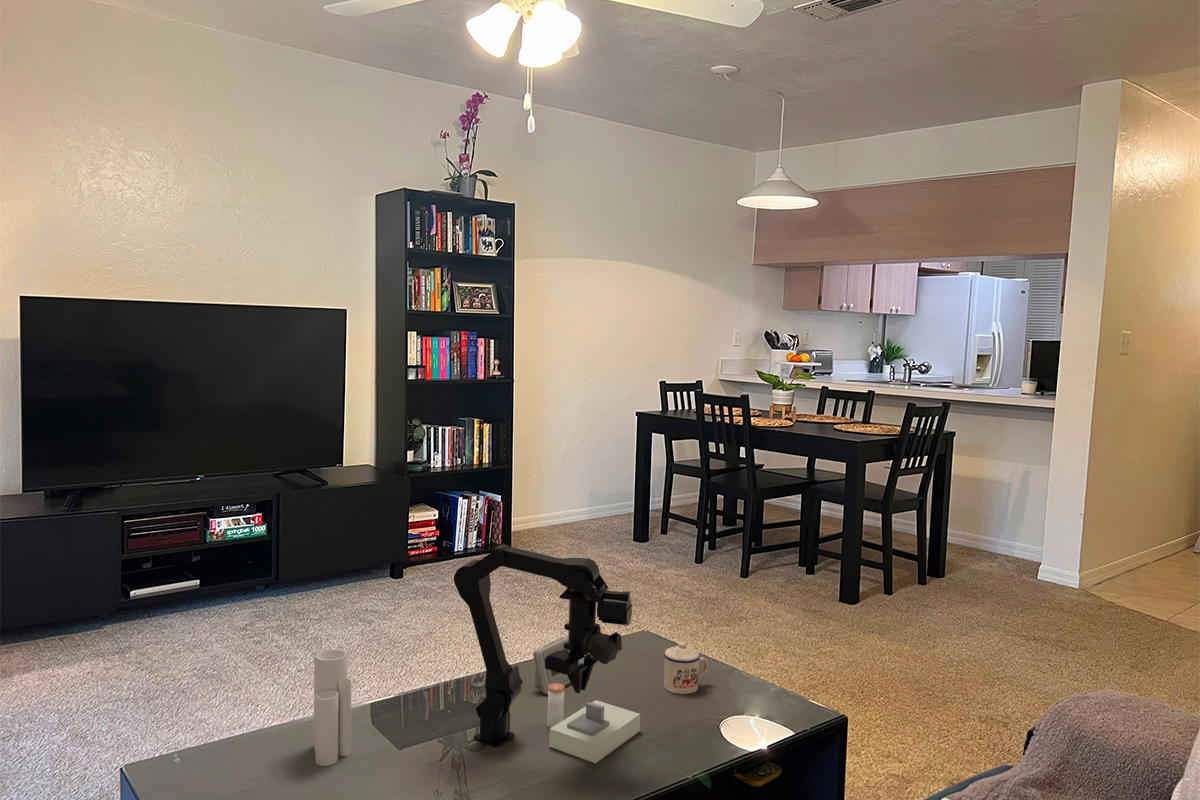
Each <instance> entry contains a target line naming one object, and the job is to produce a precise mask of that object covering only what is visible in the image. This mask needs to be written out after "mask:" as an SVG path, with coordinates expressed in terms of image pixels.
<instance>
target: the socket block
mask: <svg viewBox="0 0 1200 800" xmlns="http://www.w3.org/2000/svg"><path fill="white" fill-rule="evenodd" d="M591 703H594V704H597V705H601V706H604V720H607V721H609V725H608V726H607V727H605V728H604V729H602V730H601V731H599V732H598V733H596V734H595V735H593V736H590V735H587V734H585V733H582V732H579V731H576V730H573V729H570V728H567V724H568V723H570V722H571V721H573V720H574V719H576V718H578V717H579V716H581V715H582V714H584V713H586V706H584V707H582V708H581V709H579V710H578V711H576V712H575V713H573V714H571V715H569V716H568V717H566V718H564V719H563V721H561V722H560V723H558V724H556V725H555V726H553V727H552V728H549V731H548V732H549V739H548V740H549V741H548V745H549V746H548V747H549V748H552V749H555V750H557V751H560V752H563V753H565V754H567V755H568V754H569V755H572V756H575V757H577V758H579V759H582V760H585V761H587V762H591V763H594V764H597V762H599V761H601V760H602V759H603V758H605V757H607V756H608V755H609V754H610V753H611V752H613V751H615V750H616V749H617V748H619V747H620V746H621V745H623V744H624V743H625V742H627V741H628V740H630V739H631V738H632V737H634V736H635V735H636V734H638V733H639V732H640V731H641V713H638V712H635V711H632V710H629V709H626V708H623V707H619V706H616V705H612V704H610V703H606V702H604V701H600V700H598V699H595V700H594V701H592V702H591Z"/></svg>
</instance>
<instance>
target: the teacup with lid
mask: <svg viewBox="0 0 1200 800" xmlns="http://www.w3.org/2000/svg"><path fill="white" fill-rule="evenodd" d="M663 656H664V668H663V669H664V671H663V672H664V673H663V687H664V689H665V690H666V691H668V692H669V693H672V694H677V693H678V694H677V695H688V694H687V693H690V694H693V693H696V691H697V690H698V689H699V678H701V677H703V676H704V675H705V674H706V673H707V671H708V669H709V661H708V660H707V659H706V658H705V657H702V656H701V655H700V653H699V651H698V650H696V649H694V648H693V647H689V646H687V642H684V641H680V642H678V644H677V645H675V646H671V647H668V648H667V649H665V651H664V653H663ZM701 661H702V662H703V663H704V665H703V668H702V670H701V671H700V672H699V669H700V668H699V665H700V662H701ZM692 692H693V693H692Z"/></svg>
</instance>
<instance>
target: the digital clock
mask: <svg viewBox="0 0 1200 800" xmlns="http://www.w3.org/2000/svg"><path fill="white" fill-rule="evenodd" d="M566 642H568V635H567V636H565V637H561V638H558V639H556V640H554V641H552V642H550V643H547V644H545V645H543V646H542V647H540V648H538V649H536V650H534V651H533V653H532V656H533V660H534V664H535V678H534V679H535V680H534V681H535V684H534V685H535V686H536V687H540V689H541V692H542V693H543V694H544V695H548V686H549V685H550V684H554V683H559V684H562V685H564V688H565V687H566V686H568V685H570V684H571V682H570V680H569V678H568V676H567V674H566V675H565V674H562V673H558V672H555V671H552V670H548V669H545V658H546V657H547V656H548V655H550V654H552V653H554V652H556V651H562V652H565V653H568V652H570V651H569V649H565V648H564V643H566Z"/></svg>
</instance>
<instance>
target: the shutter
mask: <svg viewBox="0 0 1200 800" xmlns="http://www.w3.org/2000/svg"><path fill="white" fill-rule="evenodd" d="M585 707H586V713H584V714H582V715H581V716H579V717H578V718H576V719H574V720H573V721H571V722H570V723H568V724H567V728H570V729H573V730H576V731H579V732H582V733H585V734H587V735H590V736H593V735H595V734H596V733H598V732H599V731H601V730H602V729H604V728H605V727H607V726H608V725H609V721H607V720H604V706H601V705H597V704H594V703H592V702H590V701H588V702H587V703H585Z"/></svg>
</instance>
